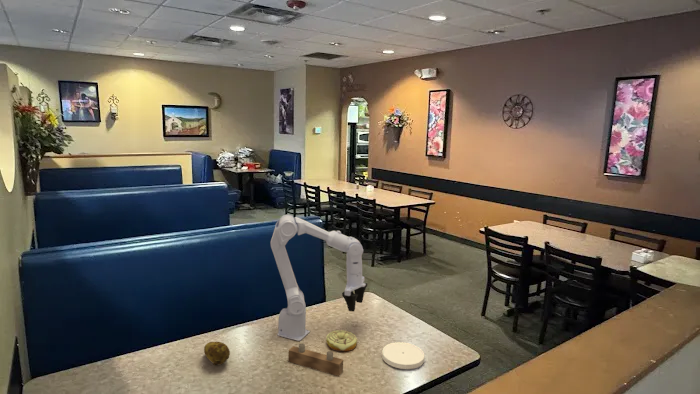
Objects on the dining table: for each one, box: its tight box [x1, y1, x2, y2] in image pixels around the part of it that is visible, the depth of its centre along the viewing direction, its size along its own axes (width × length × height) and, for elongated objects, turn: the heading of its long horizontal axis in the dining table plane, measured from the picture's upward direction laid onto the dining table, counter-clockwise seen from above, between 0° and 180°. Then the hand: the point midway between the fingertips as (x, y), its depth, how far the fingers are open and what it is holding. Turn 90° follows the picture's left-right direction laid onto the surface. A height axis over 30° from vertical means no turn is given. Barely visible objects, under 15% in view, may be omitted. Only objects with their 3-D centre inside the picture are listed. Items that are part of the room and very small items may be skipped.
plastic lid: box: [381, 341, 425, 370], centre depth 139 cm, size 14×14×2 cm
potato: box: [203, 341, 231, 366], centre depth 132 cm, size 8×13×8 cm, turn 13°
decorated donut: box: [325, 329, 358, 352], centre depth 147 cm, size 10×11×4 cm
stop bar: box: [287, 343, 344, 377], centre depth 133 cm, size 18×3×6 cm, turn 67°
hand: (355, 306), depth 155 cm, fingers open, 7 cm apart
